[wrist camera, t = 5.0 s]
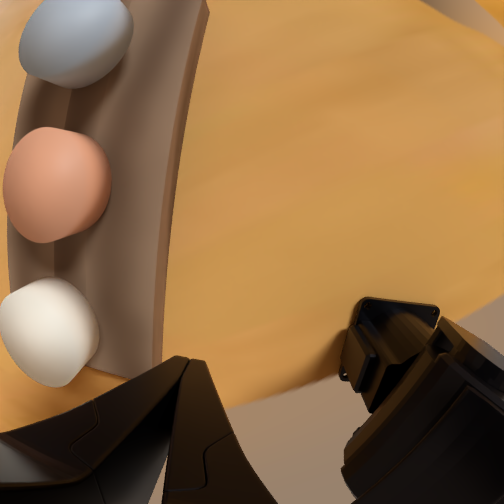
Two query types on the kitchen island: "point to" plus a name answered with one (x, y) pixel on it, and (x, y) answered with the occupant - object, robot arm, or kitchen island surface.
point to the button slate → (75, 40)
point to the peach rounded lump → (56, 184)
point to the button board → (122, 181)
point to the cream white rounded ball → (49, 330)
